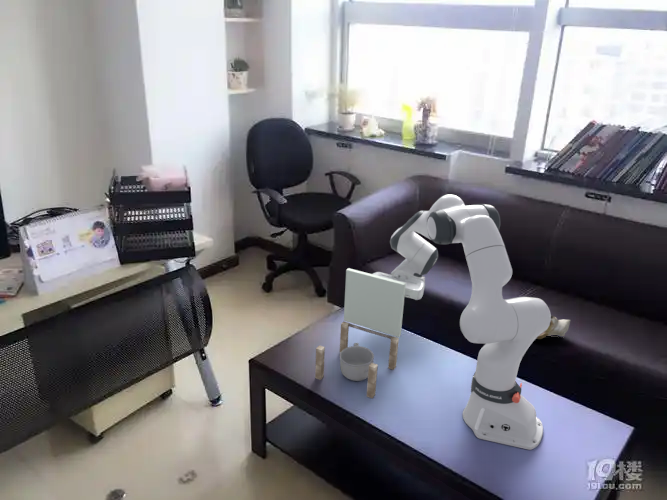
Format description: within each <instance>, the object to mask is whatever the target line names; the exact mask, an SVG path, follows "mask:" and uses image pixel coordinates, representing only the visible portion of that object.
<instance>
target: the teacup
mask: <svg viewBox="0 0 667 500" xmlns="http://www.w3.org/2000/svg"><path fill="white" fill-rule="evenodd" d="M374 358H375V354H374V352H373V350H371V349H370V348H368V347H366V346H360V344H359V342H354V343H353V345H352V346H348V347H347V348H345V349H344V350H342V351H341V353H340V352H339V366H340V371H341V374H342V375H343V376H344V377H345V378H346V379H349V380H350V381H352V382H353V381H354V382H361V381H364V380H365V379H368V370H369V365H370V364H371V363H374Z"/></svg>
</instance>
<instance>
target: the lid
mask: <svg viewBox="0 0 667 500" xmlns="http://www.w3.org/2000/svg"><path fill="white" fill-rule="evenodd" d="M405 287H406V283H404V282H400V281H396V280H392V279H388V278H385V277H381V276H377V275H373V273H368V272H364V271H361V270H358V269H353V268H350V267H348V268H347V269H346V270H345V287H344V288H345V290H344V311H343V322H347V323H350V324H353V325H356V326H360V327H363V328H366V329H370V330H373V331H376V332H380V333H383V334H386V335H389V336H394V337H397V338H400V337H401V334H402V325H403V314H404V306H405V298H406V297H405Z"/></svg>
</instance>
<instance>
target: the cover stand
mask: <svg viewBox="0 0 667 500" xmlns="http://www.w3.org/2000/svg"><path fill="white" fill-rule="evenodd" d="M349 328H353V329H356V330H360V331H363V332H366V333H370V334H373V335H377V336H379V337H383V338H385V339H390V345H389V355H388V364H387V365H388V367H387V369H389V370H393V371H395V370H396V368H397V362H398V361H397V360H398V349H399V338H400V337H396V336H393V335H390V334H386V333H383V332H380V331H376V330H373V329H370V328H367V327H363V326H360V325H357V324H353V323H350V322H347V321H343V322H341V323H340V333H339V336H340V337H339V354H340V353H341V351H342V350H344V349H345V348H347V347H349V346H348V345H349V344H348V343H349V331H350V330H349ZM325 350H326V347H325V346H323V345H320V344H319V345H318V346H317V347H316V348H315V371H314V374H315V376H314V378H315V379H317V380H318V381H321V380H322V379H323V378H324V376H325V374H324V373H325V353H326V352H325ZM378 366H379V364H377V363H375V362H373V363H371V364H370V365H369V370H368V378H367V385H366V386H367V387H366V397H367V398H369V399H372V400H373V399H374V397H375V396H376V389H377V377H378Z"/></svg>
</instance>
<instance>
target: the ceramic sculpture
mask: <svg viewBox="0 0 667 500" xmlns="http://www.w3.org/2000/svg"><path fill="white" fill-rule="evenodd" d="M570 324H571V319H558V318H557V317H556V316H554V315H551V321H550V325H549V327H548V329H547V330H546V331H544V332H543V333H542V334H540V335H539V336H538V337H537V338H536V339H538V340H542V339H544V338H547V337H546V336H551V335H560V336H564V337H565V335H566V333H567V332H568V331H569V327H570ZM551 337H552V336H551Z"/></svg>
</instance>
